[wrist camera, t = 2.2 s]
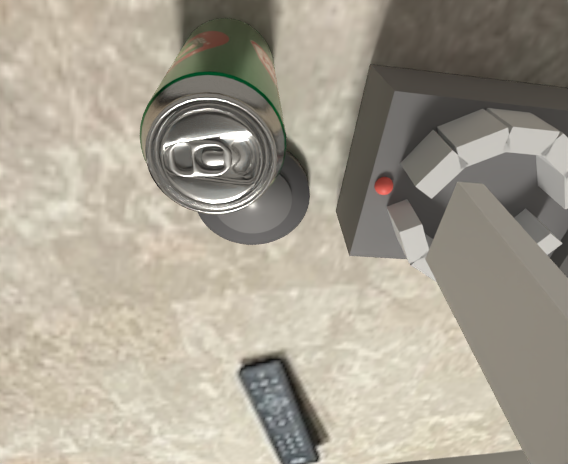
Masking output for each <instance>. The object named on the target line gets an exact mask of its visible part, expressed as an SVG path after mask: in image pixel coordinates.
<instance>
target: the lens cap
mask: <svg viewBox="0 0 568 464" xmlns="http://www.w3.org/2000/svg"><path fill="white" fill-rule="evenodd" d="M309 198H310V193H309V186H308V181H307V177H306V174H305V171H304V170H303V168H302V166H301V164H300V163H299V162H298V160H297V159H296V158H295V157H294V156H293V155H292V154H291V153H289V152H288V151H287V150H286V155H285V159H284V163H283V166H282V168H281V170H280V172H279V175H278V176H277V178H276V179H275V180H274V182H273V183H272V184H271V185H270V186H269V187H268V189H267V190H266V191H265V193H264V194H263V195H262V196H261V197H260V198H259V199H258V200H256V201H255V202H254V203H252V204H251V205H249V206H247V207H245V208H243V209H241V210H238V211H235V212H231V213H226V214H205V213H200V212H198V214H199V216H200V217H201V219H202V221H203V222H204V223H205V224H206V225H207V226H208V228H209V229H211V230H212V231H213V232H214V233H216V234H217V235H219V236H220V237H222V238H224V239H227V240H229V241H232V242H235V243H240V244H248V245H256V244H264V243H269V242H272V241H275V240H278V239H280V238H282V237H284V236H285V235H287V234H289V233H290V232H291V231H292V230H294V229H295V228H296V227H297V226H298V224H299V223H300V222H301V221H302V219H303V217H304V216H305V214H306V211H307V209H308V205H309Z"/></svg>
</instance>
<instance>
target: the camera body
mask: <svg viewBox="0 0 568 464" xmlns="http://www.w3.org/2000/svg"><path fill="white" fill-rule="evenodd" d="M457 182H468V183H478V184H484V185H485V186H486V187H487V188H488V190H489V191H490V192H491V193H492V194H493V195H494V196H495V197H496V199H497V200H498V201H499V202H500V203H501V204H502V205H503V206H504V207H505V209H506V210H507V211H508V212H509V213H510V214H511V215H512V216H513V218H514V219H515V220H516V221H517V222H518V223H519V224H520V225H521V226H522V228H523V229H524V230H525V231H526V232H527V233H528V234H529V235H530V237H531V238H532V239H533V240H534V241H535V242H536V243H537V244H538V245H539V247H540V248H541V249H542V250H543V251H544V252H545V253H546V254H547V256H548V257H549V258H550V259H551V260H552V261H553V262H554V263H555V264H556V266H557V267H558V268H559V269H560V270H561V271H562V272H563V273H564V275H565V276H566V277H567V278H568V88H563V87H555V86H547V85H538V84H530V83H522V82H513V81H505V80H496V79H488V78H480V77H471V76H463V75H455V74H446V73H438V72H430V71H421V70H413V69H404V68H396V67H388V66H379V65H371V64H370V68H369V72H368V76H367V81H366V85H365V89H364V93H363V98H362V102H361V106H360V111H359V115H358V119H357V123H356V128H355V132H354V136H353V141H352V145H351V149H350V154H349V158H348V162H347V166H346V171H345V175H344V179H343V184H342V188H341V192H340V196H339V201H338V205H337V209H336V213H337V216H338V220H339V223H340V226H341V230H342V233H343V236H344V239H345V243H346V246H347V249H348V253H349V256H363V257H380V258H396V259H407V260H408V262H409V263H410V265H411V266H412V267H414V268H415V269H417V270H419V271H420V272H422V273H423V274H425V275H426V276H428V277H430V278H431V279H433V280H434V281H436V279H435V277H434V275H433V274H432V272H431V270H430V268H429V266H428V264H427V262H426V260H425V258H426V256H427V254H428V251H429V249H430V246H431V244H432V242H433V239H434V237H435V234H436V232H437V229H438V227H439V225H440V222H441V220H442V217H443V215H444V213H445V210H446V208H447V205H448V203H449V200H450V198H451V196H452V193H453V191H454V188H455V186H456V184H457ZM436 282H437V281H436Z"/></svg>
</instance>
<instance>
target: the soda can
mask: <svg viewBox="0 0 568 464" xmlns="http://www.w3.org/2000/svg"><path fill="white" fill-rule="evenodd" d="M140 143H141V149H142V153H143V156H144V159H145V161H146V163H147V166H148V169H149V172H150V174H151V176H152V178H153V180H154V181H155V183H156V184H157V186H158V187H159V188H160V189H161V190H162V192H163V193H164V194H165V195H167V196H168V197H169V198H170V199H171V200H173V201H174V202H176V203H177V204H179V205H181V206H183V207H185V208H187V209H190V210H193V211H196V212H200V213H205V214H226V213H231V212H235V211H238V210H241V209H243V208H245V207H247V206H249V205H251V204H252V203H254V202H255V201H256V200H258V199H259V198H260V197H261V196H262V195H263V194H264V193H265V191H266V190H267V189H268V187H269V186H270V185H271V184H272V183H273V182H274V180H275V179H276V178H277V176H278V175H279V172H280V170H281V168H282V166H283V163H284V159H285V155H286V147H287V145H286V132H285V127H284V121H283V115H282V109H281V103H280V97H279V92H278V86H277V80H276V74H275V68H274V62H273V58H272V54H271V51H270V49H269V46H268V45H267V43H266V41H265V40H264V38H263V37H262V36H261V35H260V34H259V33H258V32H257V31H256V30H255V29H254V28H252V27H251V26H249V25H248V24H246V23H244V22H242V21H239V20H235V19H228V18H221V19H215V20H211V21H208V22H206V23H204V24H202V25H201V26H199V27H198V28H197V29H196V30H195V31H194V32H193V33H192V34H191V35H190V36H189V38H188V39H187V41H186V43H185V44H184V46H183V47H182V49H181V51H180V52H179V54H178V56H177V57H176V59H175V61H174V62H173V64H172V65H171V67H170V69H169V70H168V72H167V74H166V75H165V77H164V79H163V80H162V82H161V83H160V85H159V87H158V88H157V90H156V92H155V93H154V95H153V97H152V98H151V100H150V101H149V103H148V105H147V107H146V109H145V112H144V114H143V117H142V121H141V126H140Z"/></svg>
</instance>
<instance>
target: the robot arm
mask: <svg viewBox="0 0 568 464" xmlns="http://www.w3.org/2000/svg"><path fill="white" fill-rule="evenodd" d="M425 260H426V262H427V264H428V266H429V268H430V270H431V272H432V274H433V275H434V277H435V279H436V281H437V283H438V285H439V287H440V289H441V291H442V293H443V295H444V297H445V299H446V301H447V303H448V305H449V307H450V309H451V311H452V313H453V315H454V317H455V318H456V320H457V322H458V324H459V326H460V328H461V330H462V332H463V334H464V336H465V338H466V340H467V342H468V344H469V346H470V348H471V350H472V352H473V354H474V356H475V358H476V360H477V362H478V363H479V365H480V367H481V369H482V371H483V373H484V375H485V377H486V379H487V381H488V383H489V385H490V387H491V389H492V391H493V393H494V395H495V397H496V399H497V401H498V403H499V405H500V407H501V408H502V410H503V412H504V414H505V416H506V418H507V420H508V422H509V424H510V426H511V428H512V430H513V432H514V434H515V436H516V438H517V440H518V442H519V444H520V446H521V448H522V450H523V451H524V453H525V455H526V457H527V459H528V461H529V463H530V464H568V278H567V277H566V276H565V275H564V273H563V272H562V271H561V270H560V269H559V268H558V267H557V266H556V264H555V263H554V262H553V261H552V260H551V259H550V258H549V257H548V256H547V254H546V253H545V252H544V251H543V250H542V249H541V248H540V247H539V245H538V244H537V243H536V242H535V241H534V240H533V239H532V238H531V237H530V235H529V234H528V233H527V232H526V231H525V230H524V229H523V228H522V226H521V225H520V224H519V223H518V222H517V221H516V220H515V219H514V218H513V216H512V215H511V214H510V213H509V212H508V211H507V210H506V209H505V207H504V206H503V205H502V204H501V203H500V202H499V201H498V200H497V199H496V197H495V196H494V195H493V194H492V193H491V192H490V191H489V190H488V188H487V187H486V186H485V185H484V184H478V183H468V182H457V184H456V186H455V188H454V191H453V193H452V196H451V198H450V200H449V203H448V205H447V208H446V210H445V213H444V215H443V217H442V220H441V222H440V225H439V227H438V229H437V232H436V234H435V237H434V239H433V242H432V244H431V246H430V249H429V251H428V254H427V256H426V258H425Z"/></svg>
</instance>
